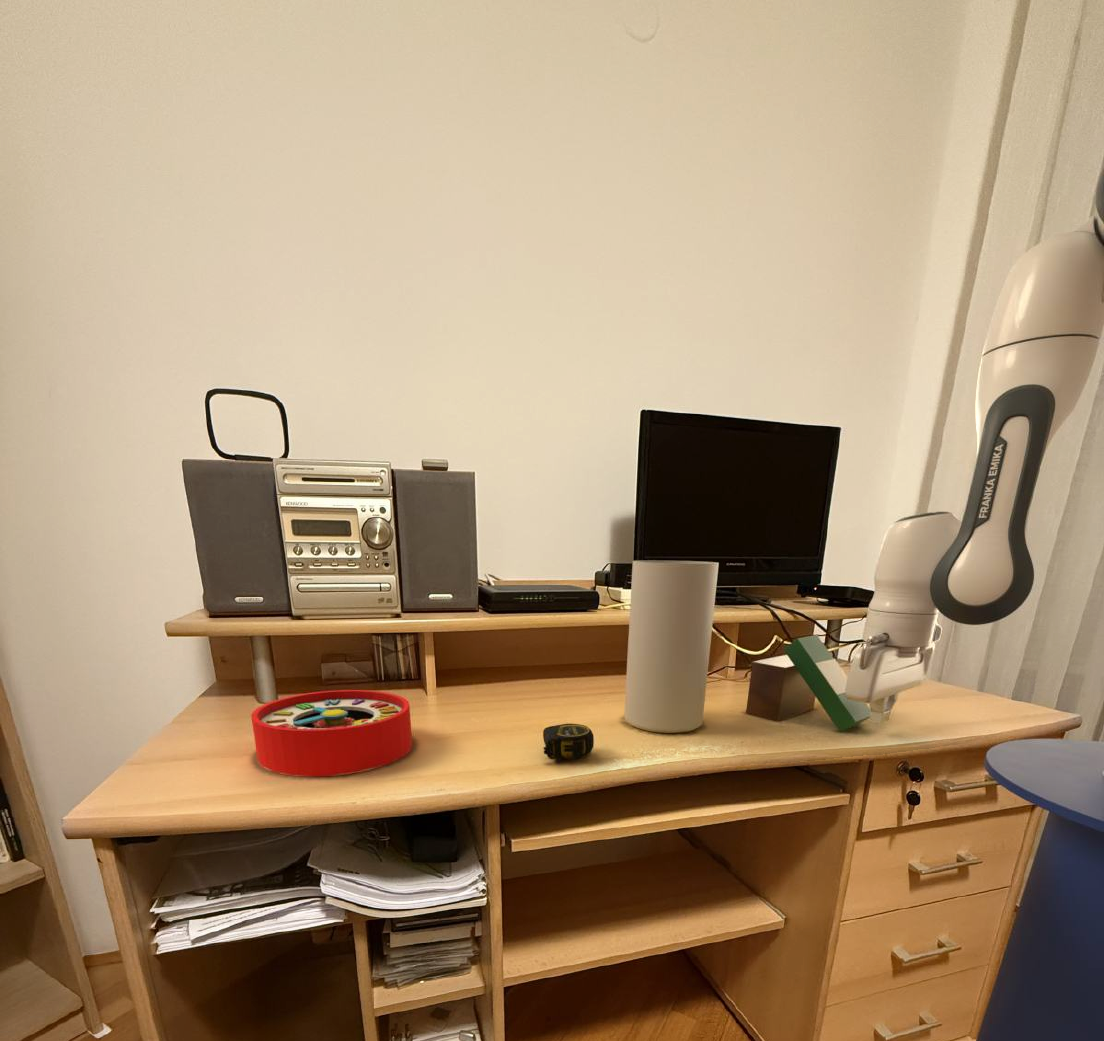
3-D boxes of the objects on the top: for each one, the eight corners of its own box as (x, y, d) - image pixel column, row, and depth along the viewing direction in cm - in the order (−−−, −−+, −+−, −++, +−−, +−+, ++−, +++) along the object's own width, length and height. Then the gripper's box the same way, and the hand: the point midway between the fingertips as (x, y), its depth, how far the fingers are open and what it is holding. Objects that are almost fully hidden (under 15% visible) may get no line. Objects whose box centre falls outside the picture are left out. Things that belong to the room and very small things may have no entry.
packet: (871, 727, 94) (888, 644, 89) (853, 735, 90) (869, 648, 85) (793, 708, 103) (805, 633, 99) (773, 715, 99) (785, 636, 95)
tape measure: (542, 747, 82) (542, 721, 81) (590, 747, 83) (591, 721, 81) (543, 764, 76) (543, 737, 75) (595, 764, 76) (596, 737, 75)
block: (813, 709, 103) (821, 659, 100) (777, 721, 96) (785, 667, 93) (782, 702, 108) (789, 654, 105) (745, 713, 100) (752, 661, 98)
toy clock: (439, 705, 80) (306, 742, 65) (441, 745, 82) (312, 790, 67) (353, 683, 92) (221, 710, 77) (356, 719, 94) (228, 752, 78)
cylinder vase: (608, 720, 95) (615, 560, 87) (657, 707, 103) (668, 560, 95) (668, 740, 86) (683, 564, 78) (717, 724, 94) (735, 563, 86)
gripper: (891, 640, 76) (870, 739, 81) (947, 628, 89) (926, 715, 93) (843, 634, 81) (826, 728, 85) (902, 623, 93) (885, 706, 98)
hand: (878, 721), depth 89 cm, fingers closed
